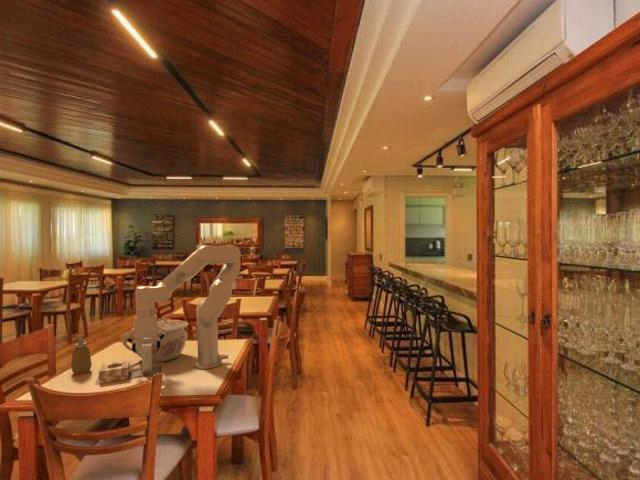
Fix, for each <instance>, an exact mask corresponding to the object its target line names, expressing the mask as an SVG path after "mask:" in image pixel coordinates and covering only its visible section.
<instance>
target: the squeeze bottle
mask: <svg viewBox="0 0 640 480" xmlns="http://www.w3.org/2000/svg"><path fill="white" fill-rule="evenodd" d="M87 345H88V344H87V342H86V341H84V339H83V335H78V339H77V342H76V343H75V344H74V348H73V349H72V351H71V366H70V369H71V371H72V374H73V375H74V376H75V375H76V376H80V375H86V374H87V373H90V371H91V368H92V364H93V363H92V358H91V353H90V352H91V351H90V347H89V346H87Z"/></svg>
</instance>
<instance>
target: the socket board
mask: <svg viewBox="0 0 640 480" xmlns="http://www.w3.org/2000/svg"><path fill="white" fill-rule="evenodd" d="M130 365H131V361H130V360H129V359H128V360H122V361H121V360H119V361H114V362H105V363H102V364H101V365H100V368H99V369H98V370H99V371H98V377H97V379H96V381H95V383H94V386H97V385H104V384H110V383H116V382H117V383H118V382H123V381H128V380H136V379H141V378H148V377H153V376H152V375H154V374H157V373H162V369H163V368H162V365H155V366H152V372H149V373H142V367H140V368H136V369H135V368H134V369H131V367H130ZM162 374H163V373H162Z"/></svg>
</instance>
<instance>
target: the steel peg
mask: <svg viewBox="0 0 640 480" xmlns="http://www.w3.org/2000/svg"><path fill="white" fill-rule="evenodd" d="M152 367H153V362H152V343H151V344H143V345H142V358H141V368H142V373H149V372H152Z"/></svg>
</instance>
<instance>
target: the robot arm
mask: <svg viewBox="0 0 640 480" xmlns="http://www.w3.org/2000/svg"><path fill="white" fill-rule="evenodd" d="M241 254H242V253H241V249H240V248H239V247H238V246H237V245H231V244H227V245H207V244H205V245H201V246H199V247H198V248H197V249H196V250H195V251H194V252H192V253H191V254H190V255H189V256H188V257H187V258H186V259H185V260H184V261H183V262H181V263H180V264H179V265H178V266H177V267H175V269H174V270H172V271H171V273H169V274H168V275H167V276H166V277H164V279H162V280H161V281H160V282H159V283H158V284H157V285H156V286H151V285H142V286H138V287H136V288H135V312H136V313H135V314H136V316H134V319H133V320H134V321H133V328H134V330H132V329H131V330H132V331H131V330H129V331H130V332H129V333H127V334H125V333H124V334H125V337H126V342H129V344H131V348H132V351H131V352H133V351H134V352H133V353H134V354H136V343H135V342H136V340H138V339H147V338H154V337H155V338H156V339H157V350H159V347H160V341H161V339H162V338H163V337H164V335H165V333H166V330H165V329H162V328H160V327H158V322H157V320H158V317H157V314H158V309H155V302H161V303H163V302H167V301H168V300H171V297H172V293H173V292H174V291H176V290H177V289H178V288H179V287H180V286H181V285H183V284H184V283H186V282H187V281H189V280H191V279H193V278H194V277H195V276H197V275H198V273H199V272H200V271H201V270H203V269H204V268H205V267H206V266H207V265H208V264H209V265H210V264H212V265H213V264H222V267H221V270H220V271H219V273H218V274H217V276H216V277H215V279H214V280H213V282H212V284H211V285H210V287H209V290H208V291H209V293H208V295H207V297H206V298H205V299H203V300H201V301H199V302H198V303H197V305H196V310H195V315H196V331H197V332H196V333H197V335H196V336H197V338H196V339H197V340H196V341H197V361H196V362H195V363H194V367H195V368H196V369H199V370H202V369H203V370H206V369H213V368H217V367H220V366H221V365H222V364H223V360H228V359H229V354H226V353H224V354H220V353H219V338H218V337H219V334H218V332H219V329H218V319H219V317H220V316H221V314H222V313H223V311H224V309H225V308H226V306H227V305H228V303H229V301H230V299H231V297H232V295H233V292H232V291H233V290H232V287H233V285H234V283H235V281H236V280H237V277H239V274H240V271H241V256H242V255H241ZM156 313H157V314H156ZM158 331H161V332H163V333H162V335H161V336H158ZM133 333H134V336H133V339H132V338H131V336H132V335H131V334H133Z"/></svg>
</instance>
